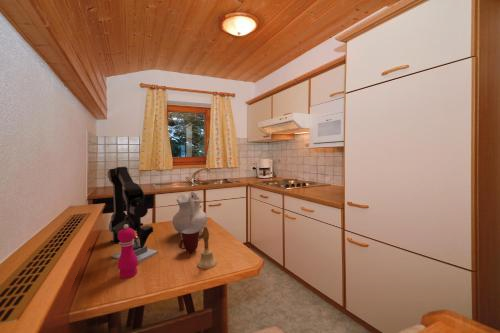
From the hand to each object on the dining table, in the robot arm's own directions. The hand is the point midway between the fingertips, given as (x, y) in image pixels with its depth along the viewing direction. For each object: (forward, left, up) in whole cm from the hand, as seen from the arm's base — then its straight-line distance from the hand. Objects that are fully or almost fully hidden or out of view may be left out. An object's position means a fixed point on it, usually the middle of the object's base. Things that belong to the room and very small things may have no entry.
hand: (135, 246), depth 110 cm
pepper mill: (+13, -13, -4) cm, 19 cm away
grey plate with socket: (0, 0, -4) cm, 4 cm away
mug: (+21, +13, -4) cm, 25 cm away
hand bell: (+36, +7, -4) cm, 37 cm away
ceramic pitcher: (+6, +31, -4) cm, 32 cm away
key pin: (0, 0, -3) cm, 3 cm away
